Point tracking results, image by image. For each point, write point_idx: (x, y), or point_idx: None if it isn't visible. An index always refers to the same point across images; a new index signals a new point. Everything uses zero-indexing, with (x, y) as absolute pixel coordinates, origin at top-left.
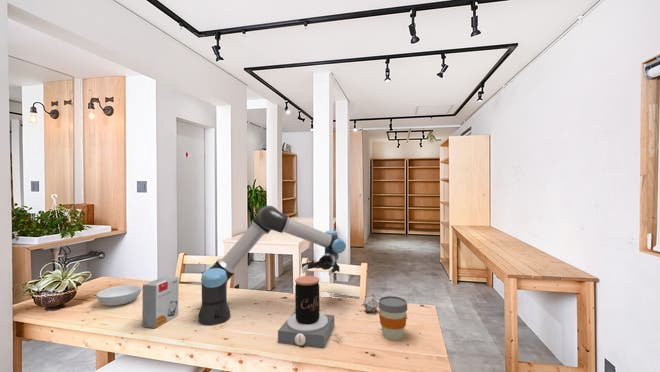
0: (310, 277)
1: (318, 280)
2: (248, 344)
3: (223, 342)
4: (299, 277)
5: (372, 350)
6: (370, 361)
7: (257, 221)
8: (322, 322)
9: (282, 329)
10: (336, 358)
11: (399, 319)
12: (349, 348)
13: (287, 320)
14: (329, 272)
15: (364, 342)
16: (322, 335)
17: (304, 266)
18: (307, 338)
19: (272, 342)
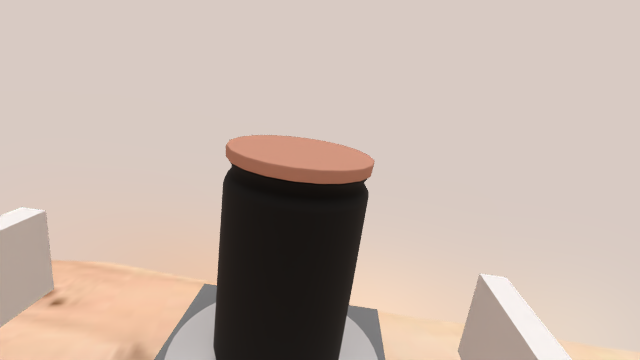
0: (288, 157)
1: (231, 139)
2: (455, 336)
3: None
4: (363, 164)
5: (26, 309)
6: (76, 273)
7: None
8: (200, 332)
9: (365, 315)
10: (173, 284)
11: None
12: (109, 318)
13: (372, 346)
14: (37, 243)
15: (16, 350)
16: (209, 285)
17: (564, 355)
18: None
19: (388, 346)
